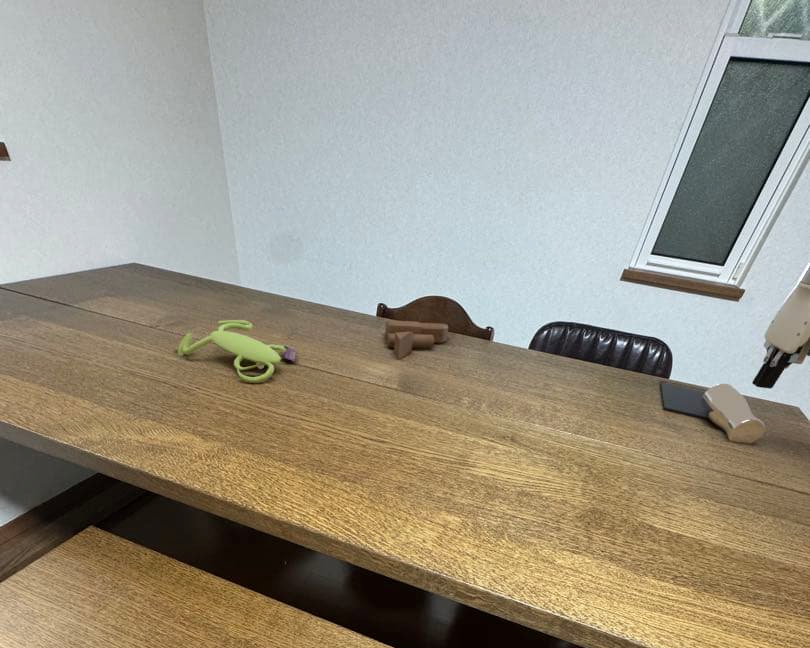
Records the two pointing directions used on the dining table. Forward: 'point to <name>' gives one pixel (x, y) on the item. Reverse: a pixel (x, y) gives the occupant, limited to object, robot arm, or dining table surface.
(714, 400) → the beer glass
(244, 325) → the figurine
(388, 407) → the dining table surface
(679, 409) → the mat
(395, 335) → the wooden block set
